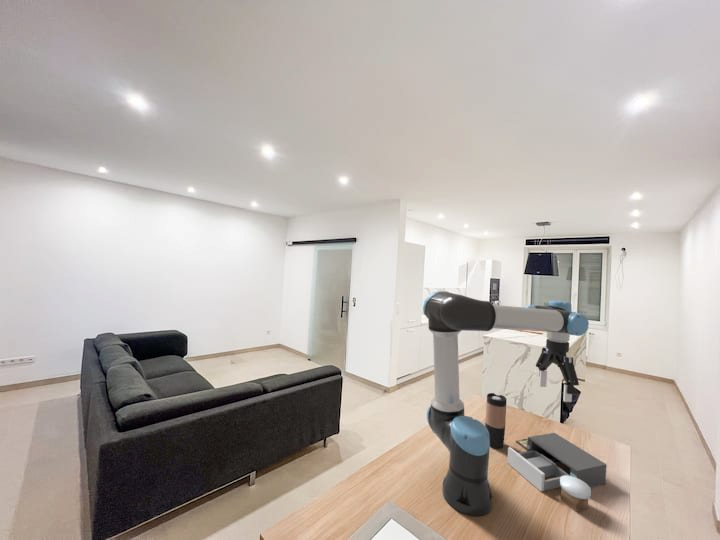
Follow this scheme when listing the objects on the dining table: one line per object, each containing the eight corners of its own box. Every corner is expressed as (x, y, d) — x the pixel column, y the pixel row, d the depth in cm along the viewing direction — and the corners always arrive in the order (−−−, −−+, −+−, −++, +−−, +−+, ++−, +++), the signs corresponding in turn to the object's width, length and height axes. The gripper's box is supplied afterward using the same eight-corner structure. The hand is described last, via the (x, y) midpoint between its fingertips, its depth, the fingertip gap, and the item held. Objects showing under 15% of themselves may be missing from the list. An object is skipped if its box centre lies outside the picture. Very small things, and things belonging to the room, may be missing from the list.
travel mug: (492, 450, 122) (495, 401, 121) (480, 439, 129) (482, 393, 129) (508, 448, 124) (511, 400, 123) (495, 437, 131) (497, 392, 131)
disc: (578, 501, 90) (578, 496, 90) (553, 482, 98) (554, 477, 98) (597, 496, 93) (597, 491, 93) (572, 478, 100) (572, 473, 100)
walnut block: (575, 511, 92) (576, 496, 92) (560, 499, 97) (561, 484, 97) (587, 508, 94) (588, 493, 94) (572, 496, 99) (573, 482, 99)
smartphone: (547, 466, 114) (547, 463, 114) (515, 443, 128) (516, 440, 128) (563, 462, 117) (563, 459, 117) (530, 440, 131) (530, 437, 131)
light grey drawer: (541, 491, 100) (542, 474, 100) (507, 462, 114) (508, 447, 114) (570, 484, 104) (571, 468, 104) (534, 457, 118) (535, 442, 118)
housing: (573, 491, 101) (575, 471, 101) (525, 454, 120) (526, 437, 120) (605, 483, 105) (606, 464, 105) (553, 449, 124) (554, 432, 124)
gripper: (593, 349, 106) (589, 409, 106) (545, 333, 131) (541, 381, 131) (573, 349, 105) (569, 408, 106) (528, 332, 130) (525, 380, 131)
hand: (554, 393), depth 119 cm, fingers open, 13 cm apart
